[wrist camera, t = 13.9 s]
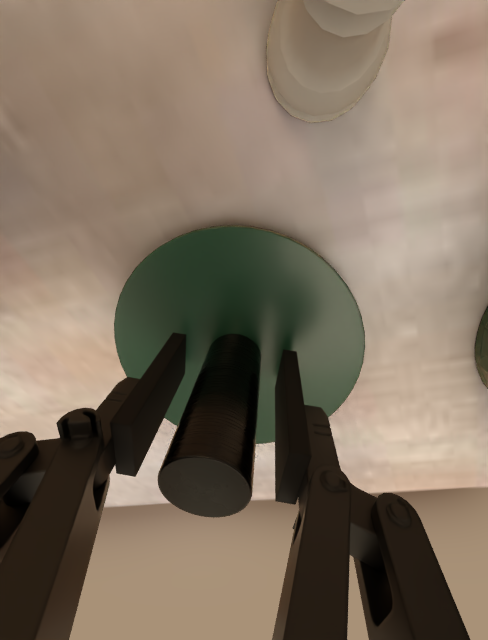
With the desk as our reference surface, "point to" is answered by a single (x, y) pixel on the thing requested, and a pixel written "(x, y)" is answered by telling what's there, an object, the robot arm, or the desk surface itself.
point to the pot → (482, 349)
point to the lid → (235, 349)
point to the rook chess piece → (326, 53)
